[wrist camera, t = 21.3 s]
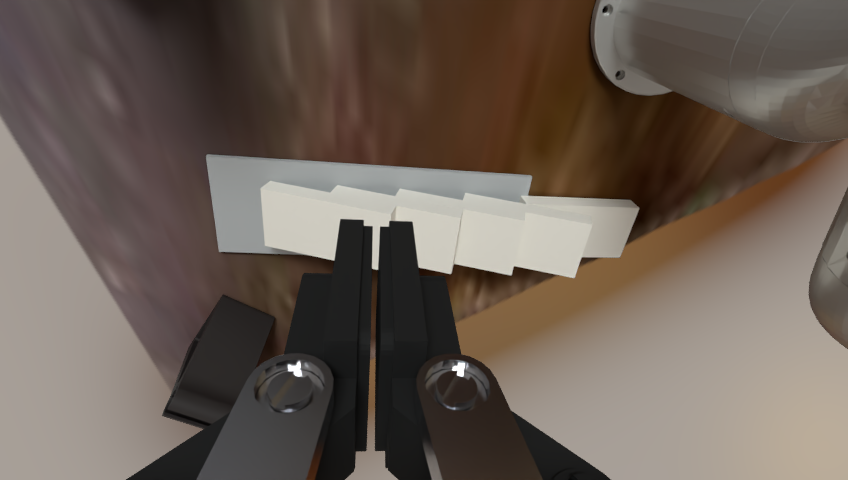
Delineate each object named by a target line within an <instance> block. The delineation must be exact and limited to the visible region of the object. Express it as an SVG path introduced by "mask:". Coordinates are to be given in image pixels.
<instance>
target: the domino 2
mask: <svg viewBox="0 0 848 480" xmlns="http://www.w3.org/2000/svg"><path fill="white" fill-rule="evenodd" d="M330 193H335V194H340V195H345V196H350V197H355V198H361V199H366V200H371V201H376V202H381V203H386V204H391V205H396V218H395V221H411V222H413V228H414V236H415V244H416V252H417V260H418V267H419V268H424V269H428V270H433V271H438V272H443V273H447V274H451V273H452V269H453V266H454V261H455V255H456V249H457V244H458V238H459V232H460V226H461V221H462V215H463V209H459V208H454V207H448V206H443V205H438V204H433V203H428V202H423V201H417V200H412V199H407V198H402V197H397V196H392V195H387V194H381V193H376V192H371V191H366V190H361V189H356V188H350V187H345V186H340V185H337V186H336V187H335V188H334V189H333V190H332V191H331V192H330Z"/></svg>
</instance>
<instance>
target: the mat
mask: <svg viewBox="0 0 848 480" xmlns="http://www.w3.org/2000/svg"><path fill="white" fill-rule="evenodd" d="M206 161H207V168H208V175H209V182H210V190H211V197H212V204H213V211H214V218H215V226H216V233H217V240H218V247H219V252H241V253H268V254H294V255H306V254H301V253H296V252H292V251H287V250H282V249H278V248H273V247H268V246H265V241H264V229H263V216H262V203H261V190H260V188H262V187H263V186H264V185H265V184H267V183H268V182H269V181H274V182H279V183H284V184H289V185H294V186H299V187H305V188H310V189H315V190H320V191H325V192H331V191H332V190H333V189H334V188H335V187H336V186H337V185H340V186H345V187H350V188H356V189H361V190H366V191H371V192H376V193H381V194H387V195H392V196H396V194H397V192H398V191H399V189H405V190H411V191H416V192H421V193H427V194H432V195H437V196H443V197H448V198H453V199H459V200H463V198H464V195H465V193H470V194H475V195H480V196H486V197H491V198H496V199H502V200H507V201H512V202H518V203H519V201H520V196H528V192H529V188H530V184H531V180H532V176H531V175H518V174H503V173H487V172H472V171H457V170H441V169H426V168H411V167H395V166H380V165H365V164H349V163H334V162H318V161H303V160H288V159H272V158H257V157H242V156H226V155H211V154H207V156H206Z"/></svg>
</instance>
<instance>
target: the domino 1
mask: <svg viewBox="0 0 848 480" xmlns="http://www.w3.org/2000/svg"><path fill="white" fill-rule="evenodd" d="M260 190H261V203H262V216H263V229H264V241H265V246H268V247H273V248H278V249H282V250H287V251H292V252H296V253H301V254H306V255H310V256H315V257H319V258H324V259H329V260H333V261H334V260H335V253H336V246H337V239H338V231H339V224H340V219H355V220H364V226H373V240H372V269H375V270H378V262H379V240H380V226H382V227H389V221H395V218H396V205H391V204H386V203H381V202H376V201H371V200H366V199H361V198H355V197H350V196H345V195H340V194H335V193H330V192H325V191H320V190H315V189H310V188H305V187H299V186H294V185H289V184H284V183H279V182H274V181H269V182H268V183H267V184H265V185H264V186H263V187H262V188H260Z"/></svg>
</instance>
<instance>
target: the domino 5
mask: <svg viewBox="0 0 848 480" xmlns="http://www.w3.org/2000/svg"><path fill="white" fill-rule="evenodd" d="M519 203H523V204H528V205H534V206H539V207H545V208H550V209H555V210H561V211H566V212H571V213H577V214H582V215H587V216H591V220H592V228H591V231H590V234H589V237H588V240H587V243H586V246H585V249H584V252H583V255H582V257H605V258H607V257H609V258H620V256H621V254H622V251H623V249H624V246H625V244H626V241H627V239H628V236H629V234H630V231H631V229H632V226H633V223H634V221H635V218H636V216H637V213H638V211H639V207H638V206H637V205H636V204H634V203H633V202H632V201H631V200H621V199H595V198H569V197H543V196H520V201H519Z"/></svg>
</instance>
